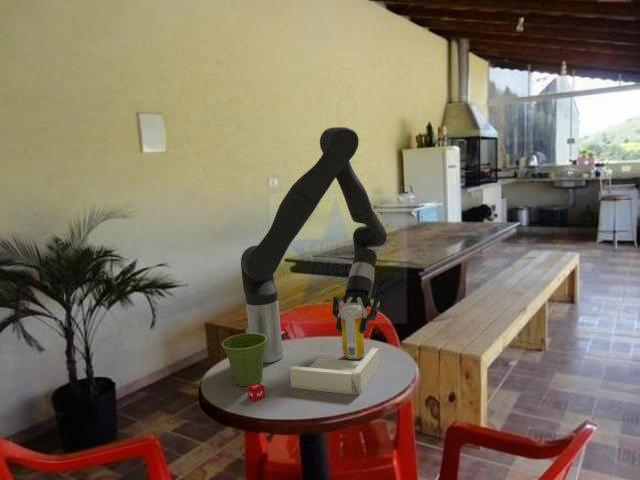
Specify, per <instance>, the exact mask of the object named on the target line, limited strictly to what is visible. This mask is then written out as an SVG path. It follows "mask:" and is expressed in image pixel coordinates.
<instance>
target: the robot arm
mask: <svg viewBox="0 0 640 480" xmlns="http://www.w3.org/2000/svg"><path fill="white" fill-rule="evenodd" d="M359 141H360V140H359V136H358V134H357V132H356V131H355V130H354V129H352V128H350V127H345V126H342V127H341V126H340V127H337V126H336V127H335V126H334V127H329V128H326V129H324V130H323V132H322V133H321V135H320V138H319V146H320V150H321V152H322V155H321V156H320V158H319V159H318V161H317V162H316V163H315V164H314V165H313V166H312V167H311V168H309V170H307V171H306V172H305V173H304V174H303V175H302V176H301V177H299V178H298V179H297V180H296V181H295V182H294V183H293V184H292V185H291V187H290V189H289V190H288V191H287V193H286V194H285V196H284V197H283V199H282V200H281V203H279V206H278V208H277V211H276V214H275V215H274V219H273V221H272V224H271V226H270V228H269V230H268V232H267V233H266V235H265V236H264V237H263V238H262V239H261V241H260V242H259V243H258V245H251V246H249V247H247V248H246V249H245V250H244V251H243V253H242V255H241V257H240V269H241V270H240V272H241V278H242V288H243V293H244V296H245V304H246V305H245V306H246V315H247V322H248V325H247V327H246V329H245V333H259V334H263V335H265V336H267V341H266V342H265V349H264V360H263V364H269V363H274V362H278V361H279V360H281V359H283V357H284V354H283V340H282V331H281V330H282V329H281V319H280V309H279V307H280V306H279V296H278V290H277V287H276V284H275V279H274V274H275V273H276V271H277V269H278V268H279V266H280V264H281V261H282V260H283V258H284V256H285V255H286V252H287V251H288V249H289V247H290V246H291V244H292V242H293V240H295V238H296V237H297V235H298V234H299V233H300V231H301V230H302V229H303V227H304V225H305V224H306V223H307V221H308V220H309V219H310V217H311V216H312V215H313V213H314V211H315V210H316V208H317V207H318V205H319V203H320V202H321V201H322V199H323V197H324V196H325V194H326V193H327V191H328V190H329V188H330V187H331V185H332V184H333V182H334V180H335V179H336V181H337V183H338V186H339V187H340V190H341V193H342V195H343V197H344V200H345V203H346V207H347V209H348V212H349V214H350V217H351V219H352V221H353V222H354V223H357V224H362V225H361V226H359V227H357V228H356V229H355V230H354V232H353V233H352V242H353V260H352V265H351V267H350V270H349V273H348V274H349V275H348V278H347V283H346V287H345V294H344V296H343V297H340V298H338V296H334V297H333V298H332V299H333V302H332V312H331V313H332V316H333V317H334V319H336V320H337V321H336V324H335V328H336V330H337V331H338V332H339V333H342V329H341V314H340V306H341V305H343V304H346V303H358V304H360V306H361V308H362V320H361V325H360V333H361V334H363V335H364V334H365V333H366V332H367V329H368V323H369V322H370V321H373V322H374V321H375V320H376V318H377V315H378V312H379V309H380V306H381V303H380V301H379V298H378V297H377V298H376V297H375V298H374V299H373V298H371V296H372V291H373V285H374V282H375V270H376V265H377V260H378V256H377V253H376V251H374V250H373V249H371V248H377V247H382V246H384V245H385V244H386V242H387V238H388V236H387V230H386V228H385V227H384V225H383V224H382V222H381V221H380V219H379V218H378V216H377V214H376V213H375V212H374V209H373V207H372V204H371V201H370V198H369V196H368V193H367V190H366V189H365V187H364V185H363V183H362V182H361V180H360V179H359V177H358V176H357V174H356V173H355V171H354V169H353V167H352V164H351V162H350V160H351V159H352V158H353V157H354V155H355V154H356V152H357V150H358V148H359ZM363 225H364V226H363ZM342 303H343V304H342ZM369 306H371V308H370V311H369V313H367V312H368V311H367V310H366V309H367V308H368V307H369Z"/></svg>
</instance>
